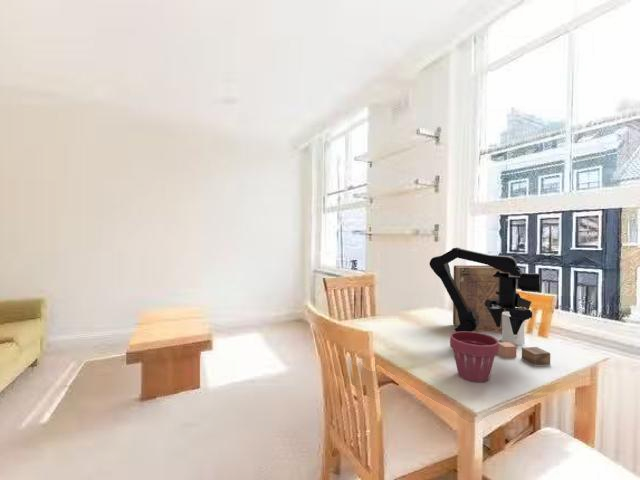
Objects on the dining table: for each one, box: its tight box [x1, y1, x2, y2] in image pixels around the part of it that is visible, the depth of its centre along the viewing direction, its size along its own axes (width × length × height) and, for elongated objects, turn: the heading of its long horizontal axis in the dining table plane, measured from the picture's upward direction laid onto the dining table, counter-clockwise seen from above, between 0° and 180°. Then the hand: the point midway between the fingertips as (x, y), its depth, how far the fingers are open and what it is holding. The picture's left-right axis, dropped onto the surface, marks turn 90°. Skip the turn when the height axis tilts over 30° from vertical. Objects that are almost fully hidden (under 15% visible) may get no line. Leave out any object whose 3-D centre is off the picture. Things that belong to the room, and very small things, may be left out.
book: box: [452, 265, 514, 332], centre depth 155 cm, size 25×9×30 cm, turn 84°
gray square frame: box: [520, 357, 552, 367], centre depth 115 cm, size 8×8×1 cm
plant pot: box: [449, 331, 500, 383], centre depth 104 cm, size 14×14×13 cm
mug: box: [500, 312, 526, 346], centre depth 134 cm, size 12×8×12 cm
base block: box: [521, 346, 551, 366], centre depth 115 cm, size 6×6×4 cm
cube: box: [497, 341, 518, 358], centre depth 121 cm, size 4×4×4 cm
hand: (506, 330), depth 121 cm, fingers open, 9 cm apart
